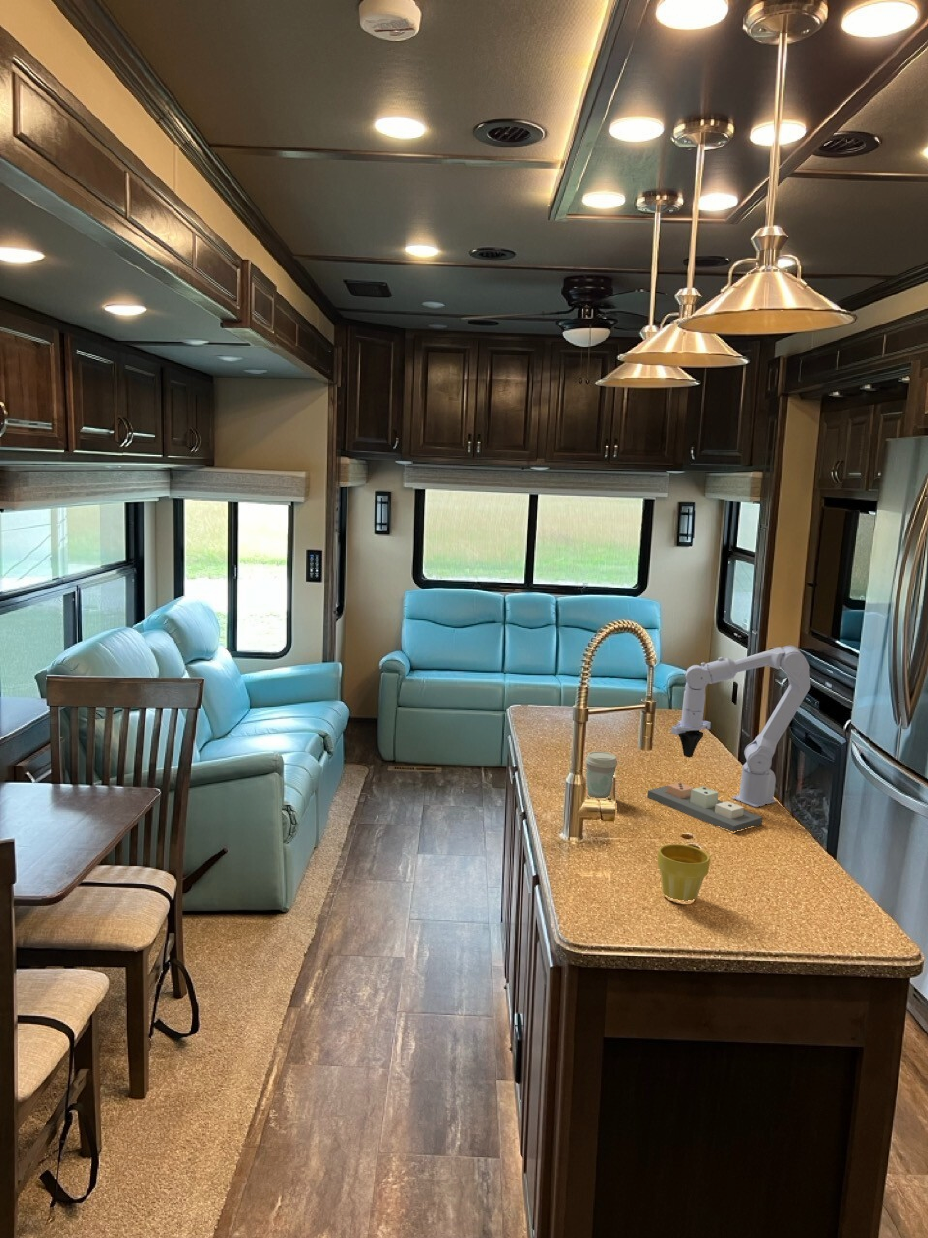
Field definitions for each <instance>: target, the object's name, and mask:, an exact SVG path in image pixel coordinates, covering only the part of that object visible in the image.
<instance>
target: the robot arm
mask: <svg viewBox="0 0 928 1238" xmlns="http://www.w3.org/2000/svg"><path fill="white" fill-rule="evenodd" d="M717 658H718V660H715V661H710V662H707V663H706V662H701V663H700V665H698V664H693V665H691V666H689V667H688V668H687V670H686V672H685V673H684V677H685V681H686V682H685V685H684V691H683V699H682V701H683V702H682V709H681V718H680V720H678V721H677V724H675V725H673V726H671V729H670V734H672V735H674V736H678V737H679V740H680V742H681V746H682V747H681V748H682V754H683V756H684V757H686V758H690V759H691V758H693V755H694V754H695V752H696V751H695V750H696V749H697V746H698V744H699V743H700V741H701V739H702V738H703V737H704V732H702V731H701V730H711V721H708V720H704V719H703V718H704V712H705V711H704V710H705V703H706V702H705V701H706V687H707V685H708V684H710V685H712V684H717V683H719V682H723V681H727V680H732V679H734V678H735V676H736V675H737V674H738V673H740V672H745V671H749V670H754V669H759V668H763V667H770V668H773V669H776V670H780V666H781V668H782V669H783V671H784V673H785V675H786V677H787V680H788V683H789V685H788V687H787V688H786V690H785V691H784V693H783V695H782V697H781V698H780V700H779V702H778V703H777V704H776V707H775V709H774V710H773V711H772V713H771V715H770V717H769V718H768V720H767V722H766V723H765V725H764V727H763V728H762V730H761V732H760V733H759V734H757V736H755V739H754V740H753V741H752V742H750V743H748V744H747V745H746V747H745V748H744V751H743V752H744V753H743V754H744V757H745V760H746V762H745V763H744V764H743V765H742V770H741V779H740V785H739V786H740V787H739V794H737V795H733V796H732V799H733V800H735V799H736V801H738V802H740V801H741V802H740V803H743V804H745V805H748V806H751V807H753V808H760V807H764V806H766V805H765V804H767V805H769V804H774V803H776V802H777V800H776V799H774V798H775V797H774V796H775V790H776V783H777V782H776V780H777V779H776V774H775V772H774V771H773V770H772V769H771V767H772V763H773V762H772V759H773V757H774V755H775V753H776V749H777V745H778V743H779V741H780V739H781V738H782V736H783V735H784V733H785V731H786V730H787V728H788V727H789V725H790V723H791V721H792V720H793V718H794V716H795V715H796V713H797V711H798V709H799V708H800V707H801V704H802V703H803V701H804V700H805V698H806V696H807V695H808V692H810V689H811V676H810V675H811V674H810V664H809V662H808V660H807V658H806V656H805V655H804V654H803V653H802V651H801V650H800V649H799V648H798V647H796V646H795V645H786V646H783V647H774V648H772V649H768V650H765V651H761V652H758V653H755V654H752V655H749V656H745V657H742V658H739V659H735V660H734V659H730V658H729V657H725V658H724V657H723V656H720V657H717ZM775 800H776V801H775ZM759 806H760V807H759Z"/></svg>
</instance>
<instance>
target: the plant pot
mask: <svg viewBox="0 0 928 1238" xmlns="http://www.w3.org/2000/svg"><path fill="white" fill-rule="evenodd" d="M710 861H711V857H710V855H709V854H708V853H707V852H706V851H704V850H703V849H700V848H699V847H695V846H693V845H689V844H688V845H687V844H681V843H670V844H669V843H668V844H664V845H661V846H660V847H659V848H658V853H657V866H658V869H659V870H660V879H661V885H662V886H661V887H662V894H663V893H664V894H665V895H667V896H668V897H670V898H673V899H678V900H684V901H688V900H693V899H696V898H698V895H699V892H700V890H701V887H702V884H703V881H704V878H705V877H707V875H708V874H709V869H710V863H711V862H710ZM696 900H697V899H696Z"/></svg>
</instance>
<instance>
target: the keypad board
mask: <svg viewBox="0 0 928 1238" xmlns="http://www.w3.org/2000/svg"><path fill="white" fill-rule="evenodd" d="M646 797H647V798H648V799H649V800H650V799H651V800H652V801H654V802H658V803H659V804H661V805H665V806H667V807H669V808H672V809H674V810H676V811H679V812H680V813H683V814H686V815H688V816H690V817H693V818H696V819H697V818H698V819H697V820H699V821H702V820H703V821H702V822H704V821H705V823H707V822H708V823H707V824H709V823H710V824H709V825H711V824H713V825H712V826H714V825H715V826H714V827H716V826H720V827H722V828H725V829H728V830H730V831H733V832H734V831H737V830H741V829H745V828H748V827H751V826H756V827H759V826H762V825H763V816H760V815H758V814H755V813H752V812H750V811H748V810H743V816H741V817H737V818H734V819H729V818H727V817H724V816H722V815H719V814H717V813H715V806H714V807H711V808H707V809H705V808H702V807H700V806H697V805H695V804H692V803H690V798H691V797H687V798H683V799H680V798H678V797H675V796H673V795H670V794H668V793H667V785H666V786H661V787H657V788H652V789H649V790H647V796H646ZM723 802H724V801H722V800H719V799H718V803H717V804H719V803H723ZM761 824H762V825H761ZM758 825H759V826H758Z"/></svg>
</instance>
